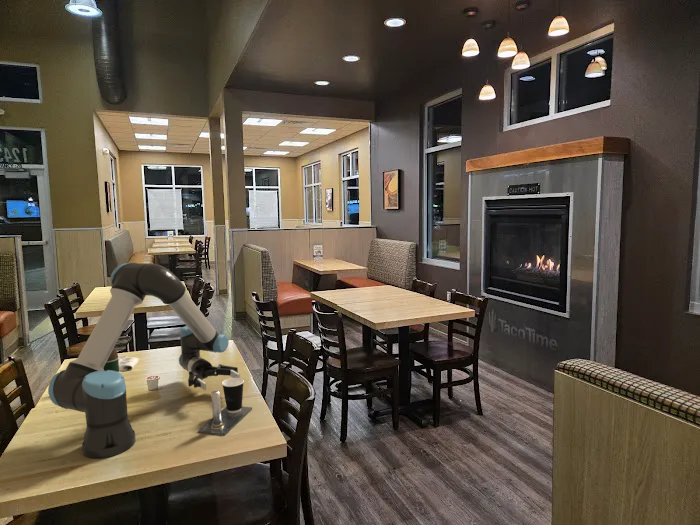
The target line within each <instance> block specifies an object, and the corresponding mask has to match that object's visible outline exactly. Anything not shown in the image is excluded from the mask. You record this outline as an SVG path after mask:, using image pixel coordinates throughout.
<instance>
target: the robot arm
mask: <svg viewBox="0 0 700 525" xmlns="http://www.w3.org/2000/svg"><path fill="white" fill-rule="evenodd" d="M109 281H110V283H109V284H110V287H111V288H110V290H109V292H110V295H111V297H110V299H109V301H108V303H107V304H106V306H105V307H104V309H103V311H102V314H101V315H100V317H99V319H98V320H97V322H96V324H95V326H94V328H93V330H92V332H91V333H90V335H89V337H88V338H87V340H86V342H85V344H84V346H83V347H82V350H81V351H80V353H79V355H78V357H77V358H76V359H73V360H70V361H69V363H68V365H67V366H66V368H65V369H63V370H60V371H59V372H57V373H56V374H55V375H53V377H51V379H50V381H49V384H48V388H47V390H48V392H47V394H48V396H49V399H50V401H51V403H53V404H54V405H56V406H58V407H60V408H62V409H65V410H72V411H77V412H80V413H84V414H85V422H86V429H85V432H84V438H83V441H82V443H81V450H82V455H83V456H85V457H87V458H89V459H102V458H108V457H109V458H110V457H113V456H116V455H119V454H121V453H124V452H126V451H127V450H129V449H131V448H132V447H133V446H134V445H135V444H136V441H137V440H136V433H135V430H134V429H133V427H132V425H131V422H130V420H129V415H128V400H127V384H126V381H125V377H124V375H123V374H122V373H121V372H116V371H112V370H107V371H104V369H103V367H104V365H105V364H106V362H107V360H108V358H109V356H110V354H111V352H112V350H113V348H114V349H115V346H116V344H117V342H118V340H119V338H120V336H121V335H122V333H123V332H124V331H123V330H124V329H125V327H126V325H127V323H128V321H129V320H130V317H131V316H132V314H133V312H134V310H135V307H136V306H138V305H142V304H143V301H144V300H145V297H146V296H151V297H155V298H157V299H158V300H160V302H162V303H163V304H164V305H167V306H169V307H170V309H172V311H173V312H174V313H175V315H177V317H179V319H180V320H181V321H182V322H183V324H184V325H185V326H183V327H181V328H180V330H179V333H180V334H179V335H180V337H179V338H180V349H181V354H180V355H179V358H178V364H179V365H180V366H181V367H182V369H183V370H186V371H187V372H188V379H187V382H188V387H190V388H191V387H193V388H194V389H196V388H200V389H201V390H203V391H207V382H205V381H204V379H207V378H208V377H218V376H230V377H231V378H241V376H240V375H241V374H240V373H239V372H238V371H239V370H238V369H239V368H238V367H237V366H236V367H235V366H231V365H224V364H221V363H220V364H218V366H213V365H212V364H211V362H210V361H208V360H207V359H205V358H203V357H201V351H204V352H211V353H217V354H218V353H220V354H221V353H224V352H226V350H228V347H229V343H230V342H229V337H228V336H227V335H225V334H222V333H218V331H217V330H216V329H215V328H214V327H213V325H212V323H211V322H210V320H208V319H207V318H206V316H205V314H204V313H203V312H202V311H201V310H200V308H199V306H197V305H196V304H195V302H194V301H193V300H192V299H191V297H190V296H189V294H188V293H187V292H186V291H187V288H186V286H185V285H184V284H183V282H182V281H181V280H180V279H179V277H177V276H176V275H175V274H174V273H173V271H171V270H169V269H168V268H166V267H164V266H162V265H160V264H157V263H139V262H126V263H122V264H119V265H118V266H116V267H115V268H114V269H113V271H112V273H111V274H110V277H109Z"/></svg>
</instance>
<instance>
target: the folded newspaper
mask: <svg viewBox="0 0 700 525" xmlns="http://www.w3.org/2000/svg"><path fill="white" fill-rule="evenodd" d="M118 362H119V373H121V372H127V370H128V371H132V370H133V369H134V368H135V366H137V364H138V362H140V359H139V357H135V356H134V357H133V356H126V355H118Z"/></svg>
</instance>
